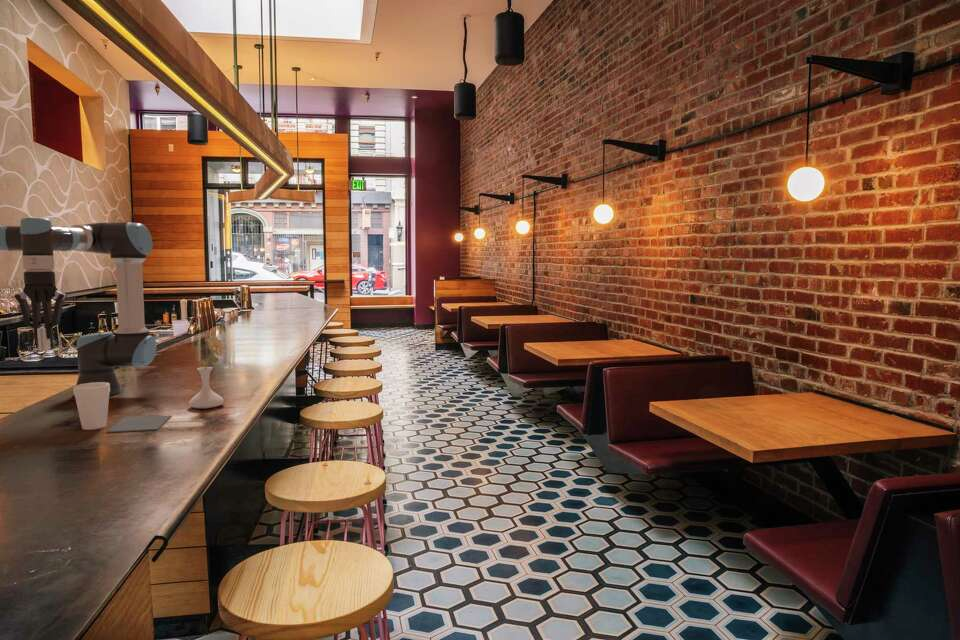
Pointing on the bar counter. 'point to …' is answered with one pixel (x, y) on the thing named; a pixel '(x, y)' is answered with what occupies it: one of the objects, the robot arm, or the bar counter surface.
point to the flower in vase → (206, 395)
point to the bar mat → (139, 424)
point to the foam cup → (92, 404)
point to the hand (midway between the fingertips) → (44, 349)
